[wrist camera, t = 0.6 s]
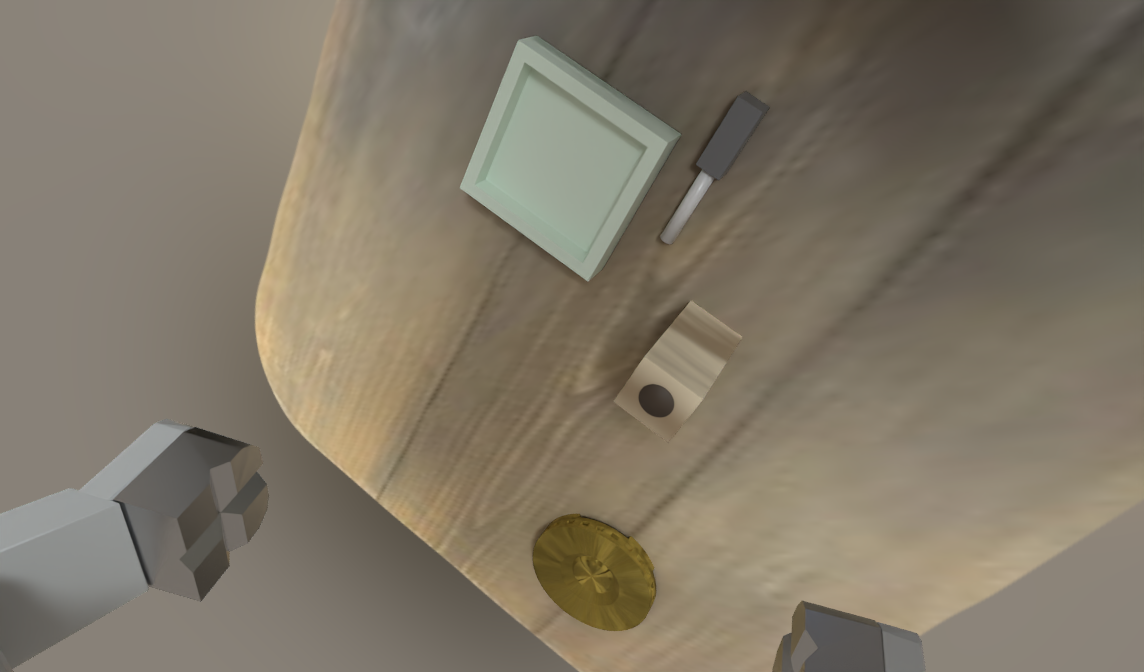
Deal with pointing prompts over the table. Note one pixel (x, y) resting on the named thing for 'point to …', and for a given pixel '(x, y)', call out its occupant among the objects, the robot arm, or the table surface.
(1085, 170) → the table surface
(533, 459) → the table surface
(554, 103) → the tray
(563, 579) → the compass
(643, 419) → the bored block
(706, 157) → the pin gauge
